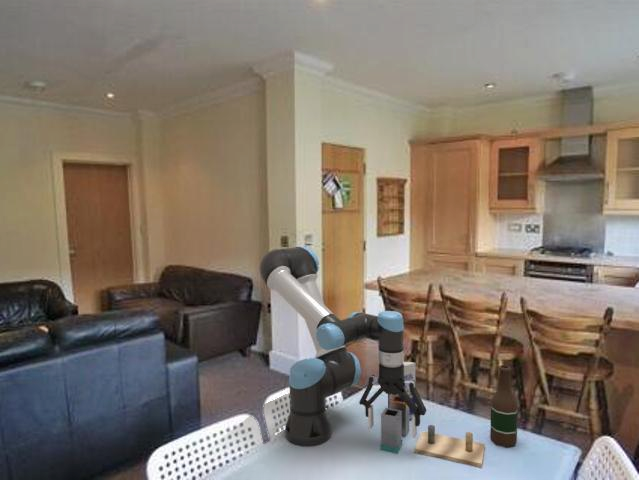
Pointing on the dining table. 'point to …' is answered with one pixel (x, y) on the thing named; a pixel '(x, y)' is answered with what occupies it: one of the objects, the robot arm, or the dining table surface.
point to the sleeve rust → (400, 405)
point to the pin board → (450, 447)
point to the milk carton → (408, 376)
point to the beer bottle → (504, 411)
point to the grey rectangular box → (391, 430)
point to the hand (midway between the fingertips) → (392, 431)
